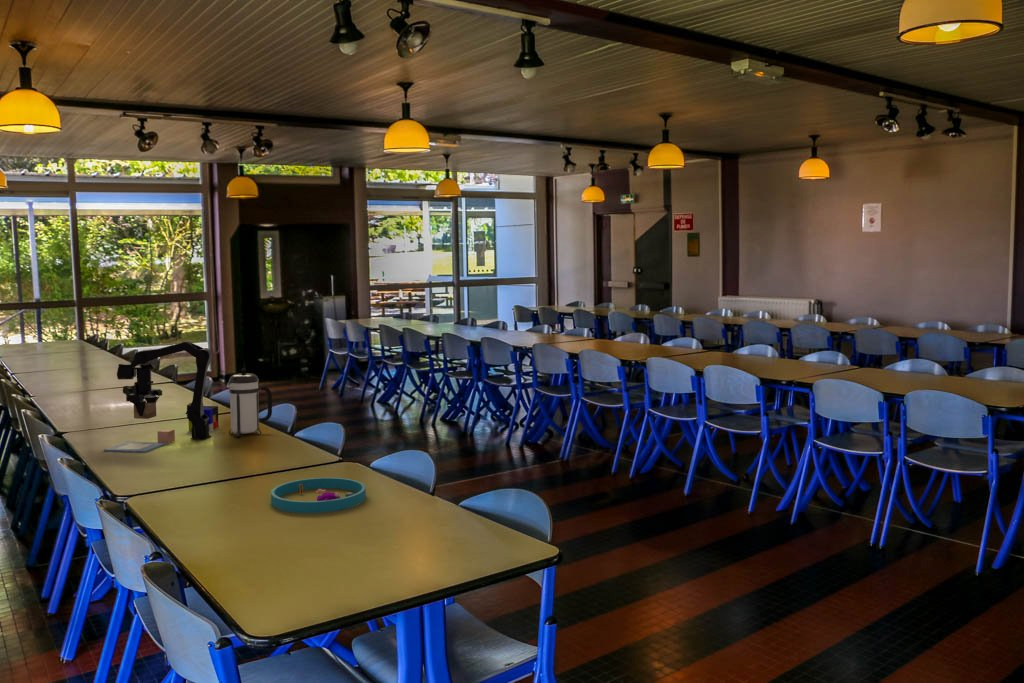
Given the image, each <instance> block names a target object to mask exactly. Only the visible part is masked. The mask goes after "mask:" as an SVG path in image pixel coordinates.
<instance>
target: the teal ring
mask: <svg viewBox="0 0 1024 683" xmlns="http://www.w3.org/2000/svg"><path fill="white" fill-rule="evenodd" d="M338 488H342V490H347V489H349V490H347V491H346V492H345V496H343V497H341V494H340V492H339V491H335V492H330V491H327V489H338ZM313 489H316V490H315V494H318V496H317V497H316V500H314V499H313V501H312V500H310V501H309V500H307V501H306V500H304V501H303V500H293V499H291V498H289V497H286V498H282V496H284V495H288V494H291V493H294V492H295V493H296V492H298V491H299V495H301V496H302V495H304V491H306V490H313ZM352 490H353V491H352ZM349 491H352V492H349ZM355 491H357V492H355ZM353 492H355V493H353ZM366 498H367V487H366V485H365V483H363V482H361V481H359V480H356V479H355V480H354V479H350V478H344V477H311V478H304V479H297V480H292V481H287V482H284V483H282V484H279V485H277V486H275V487H273V488H272V489H271V490H270V505H271V506H272V507H274V509H278V510H280V511H282V512H283V511H284V512H289V513H295V514H296V513H297V514H317V513H319V514H320V513H329V512H330V513H332V512H337V511H342V509H343V510H347V509H350V508H349V507H351V508H353V507H352V506H354V507H356V506H358V505H357V504H359V503H360V504H362V503H363V502H365V500H366ZM362 501H363V502H362ZM361 502H362V503H361ZM360 504H359V505H360ZM355 505H356V506H355ZM346 508H347V509H346Z"/></svg>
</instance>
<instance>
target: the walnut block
mask: <svg viewBox="0 0 1024 683" xmlns="http://www.w3.org/2000/svg"><path fill="white" fill-rule="evenodd" d="M155 417H157V402H156V403H152V402H146V403H145V407H144V412H143V415H142V416H139V414H138V411H137V409H136V407H135V405H134V404H133V419H137V420H138V419H141V420H143V419H144V420H145V419H146V420H149V419H152V418H155Z"/></svg>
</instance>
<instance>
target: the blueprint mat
mask: <svg viewBox="0 0 1024 683" xmlns="http://www.w3.org/2000/svg"><path fill="white" fill-rule="evenodd" d="M167 444H168V443H165V442H158V441H132V440H131V441H130V440H127V441H124V442H121V443H118V444H115V445H112V446H110V447H107V448H104V449H103V451H104V452H111V453H117V452H118V453H139V454H142V453H144V454H146V453H149V452H152V451H154V450H156V449H158V448H161V447H164V446H166V445H167Z"/></svg>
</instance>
